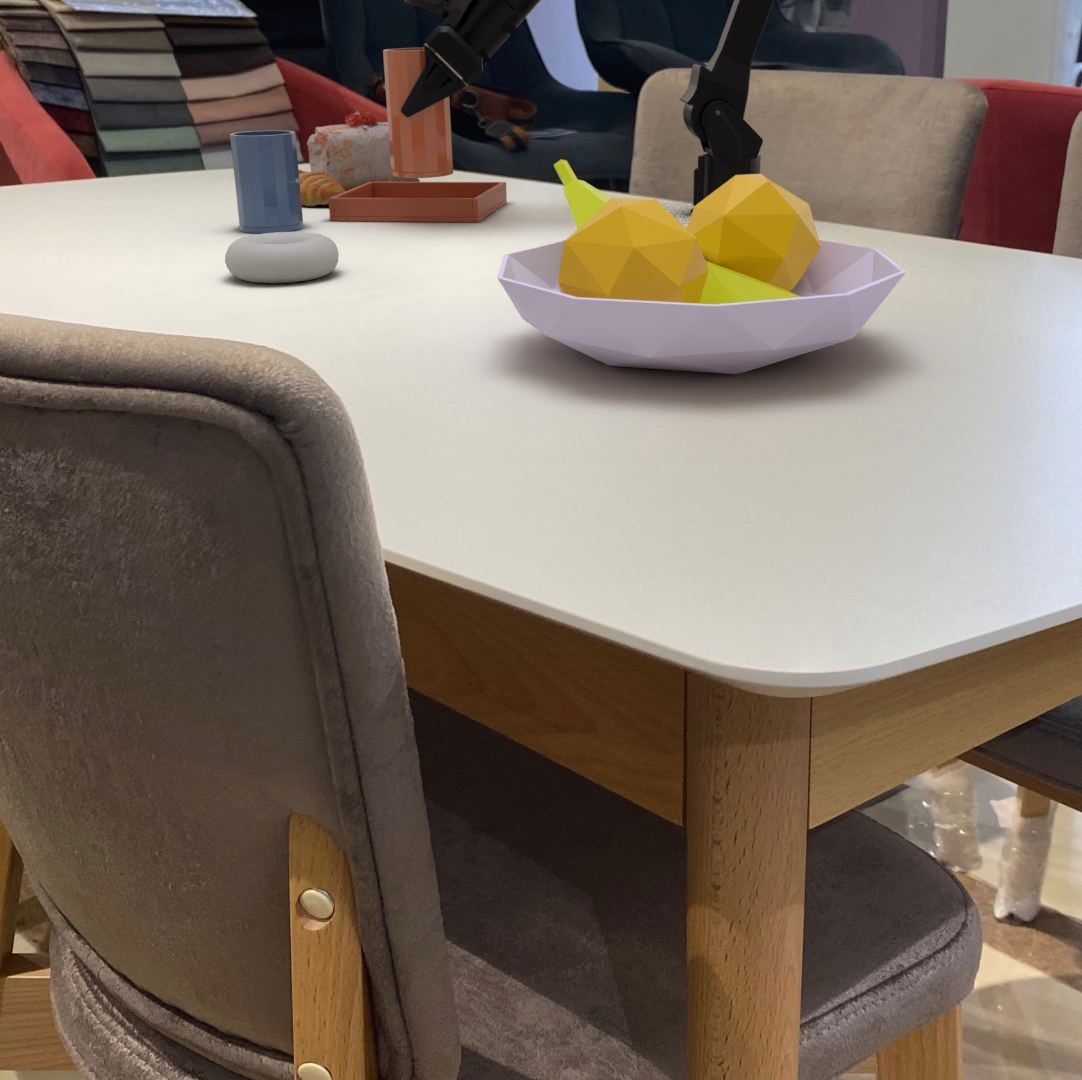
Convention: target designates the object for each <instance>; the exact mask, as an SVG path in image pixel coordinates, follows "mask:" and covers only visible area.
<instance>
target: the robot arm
mask: <svg viewBox="0 0 1082 1080" xmlns="http://www.w3.org/2000/svg"><path fill="white" fill-rule="evenodd" d="M541 1H542V0H404V2H405V3H406V4H408V5H411V6H413V7H415V8H417V7H418V8H422V9H424V10H426V11H428V12H430V13H432V14H435V15H436V16H439V17H441V18H443V20H442V22H441V24H442V25H438V26H436V27H435V28H434V29H433V30H432V32H431V33H430V34H429V35H428V36H427V38H425V40H424V41H425V42H426V43H425V42H424V43H423V48H424V56H425V67H424V69H423V71H422V73H421V75H420V76H419V78H418V80H417V82H416V83H415V85H414V87H413V89H412V90H411V92H410V94H409V96H408V97H407V99H406V101H405V103H404V104H403V106H402V108H401V112H402V113H403V114H404V115H405V116H406V117H410V116H412V115H414V114H416V113H418V112H420V111H422V110H424V109H425V108H427V107H429V106H431V105H433V104H435V103H437V102H439V101H441V100H443V99H445V98H447V97H449V96H450V97H451V96H453V95H454V94H457V93H458V92H461V91H462V90H465V89H466V88H469V87H468V86H471V85H472V84H473V83H474V81H476V80H477V78H478V77H479V76H480V75H481V74H482V72H483V71H484V68H485V67H486V64H487V63H488V62H489V60H490V59H491V58H492V56H494V54H495V53H496V52H497V51H498V50H499V48H501V46H502V45H503V44H504V43H505V42H506V41H507V40H508V38H509V37H510V36H511V35H512V34H513V33H514V32H515V31H516V30H517V28H518V27H519V26H520V25H521V23H523V21H524V20H525V19H526V18H527V17H528V16H529V15H530V13H531V12H533V10H534V9H535V8H536V7H537V6H538V4H539V3H540V2H541ZM774 2H775V0H733V2H732V6H731V8H730V10H729V14H728V16H727V20H726V22H725V25H724V28H723V31H722V33H721V37H720V38H719V42H718V45H717V47H716V50H715V52H714V53H713V55H712V56H711V58H710V60H709V61H708V63H707V64H706V66H705V67H704V65H700V64H697V63H694V64H693V65H692V66H691V67H692V68H691V71H690V76H689V82H688V86H687V87H686V90H685V92H684V94H682V95H681V97H680V98H679V100H680V101H681V102H683V103H684V105H683V109H682V110H683V111H682V118H683V122H684V124H685V126H686V129H687V130H688V131H689V132H690V133H691V134H692V136H694V137H696V138H697V139H699V142H700V145H701V148H702V151H703V152H704V154H699V155H697V167H696V168H694V170H693V188H692V189H693V190H692V205H693V207H692V208H690V214H692V212H693V209H694V206H695V205H697V204H698V203H699V202H701V201H702V200H703V199H705V198H706V197H707V196H709V195H710V194H711V193H713V192H714V191H715V190H716V189H718V188H719V187H720V186H722V185H723V184H724V183H726V182H727V181H728V180H730V179H731V178H732V177H734V176H735V175H746V174H761V160H762V159H761V158H762V155H761V154H759V153H760V151H761V148H762V146H763V143H764V140H763V138H762V137H761V136H760V135H759V134H758V132H757V131H756V130H755V129H754V128H753V127H752V126H751V125H750V124H749V122H747V121H746V120H745V113H746V109H747V103H748V98H749V91H750V83H751V72H752V70H751V69H752V64H753V61H754V57H755V54H756V52H757V48H758V46H759V44H760V41H761V37H762V35H763V32H764V30H765V28H766V24H767V22H768V19H769V16H770V14H771V10H772V8H773V6H774ZM431 48H433V49H434V50H435V51H436V52H437V53H435V52H434V51H433V50H432V49H431Z"/></svg>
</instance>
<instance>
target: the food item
mask: <svg viewBox="0 0 1082 1080" xmlns="http://www.w3.org/2000/svg"><path fill="white" fill-rule="evenodd" d="M344 118H345V119H344V123H342V124H330V125H324V126H316V127H315V129H314V130H315V131H314V132H315V133H313V134H311V135H310V136H309V137H308V139H307V141H306V146H307V151H308V158H309V159H308V162H309V167H310V172H321V173H323V174H327V175H329V176H330V177H331V178H333V179H336V180H337V181H338V182H339V183H341V184H342V186H343V188H344V190H345V191H348V190H350V189H353V188H355V187H358V186H360V185H363V184H365V183H368V182H421V180H420V178H400V177H394V176H392V170H391V160H390V146H389V131H388V121H377V118H376V116H374V115H373V114H372V113H370V112H369V111H367V112H366V113H361V112H360V111H358V110H356V111H355V112H350V114H348V115H346V116H344Z"/></svg>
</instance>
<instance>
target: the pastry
mask: <svg viewBox="0 0 1082 1080" xmlns="http://www.w3.org/2000/svg"><path fill="white" fill-rule="evenodd" d="M299 181H300V192H301V204H302V206H305V207H314V206H317V205H323V206H326V205H329V200H328V199H329V198H331V197H333V196H336V195H338V194H341V193H343V192H345V190H344V188H343V186H342V184H341V183H339V182H338V181H337V180H336V179H333V178H331V177H330V176H329V175H327V174H323V173H321V172H311V171H307V170H302V169H299Z"/></svg>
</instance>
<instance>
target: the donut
mask: <svg viewBox="0 0 1082 1080" xmlns="http://www.w3.org/2000/svg"><path fill="white" fill-rule="evenodd" d="M339 254H340V253H339V249H338V246H337V245H336V243H335V241H334V240H332V239H331V238H330V237H328V236H326V235H325V234H324V235H323V234H322V233H317V232H308V231H307V232H306V231H288V232H275V233H256V234H251V235H246V236H242V237H240V238H238V239H236V240H234V241H232V242H231V243H230V245H229V246H228V247H227V250H226V252H225V255H224V262H225V266H226V268H227V270H228V271H229V272H230V273H231V275H233V276H234V277H236V278H237V279H239V280H242V281H244V282H249V283H257V284H290V283H298V282H306V281H313V280H316V279H319V278H323V277H325V276H326V275H328V274H330V273H332V272H333V271H334V270H335V269H336V268H337V265H338V263H339V256H340V255H339Z"/></svg>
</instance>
